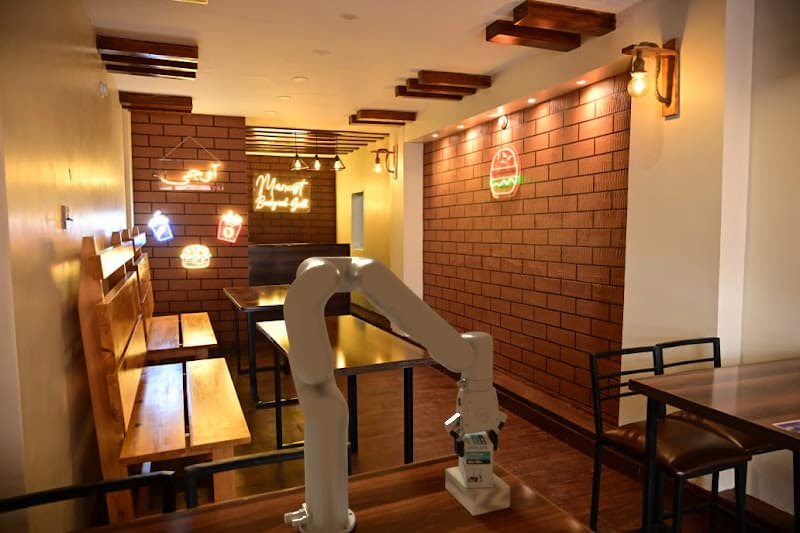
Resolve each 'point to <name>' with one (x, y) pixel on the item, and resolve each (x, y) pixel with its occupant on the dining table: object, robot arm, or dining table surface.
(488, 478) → the light bulb box
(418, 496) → the dining table surface
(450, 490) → the ash block
